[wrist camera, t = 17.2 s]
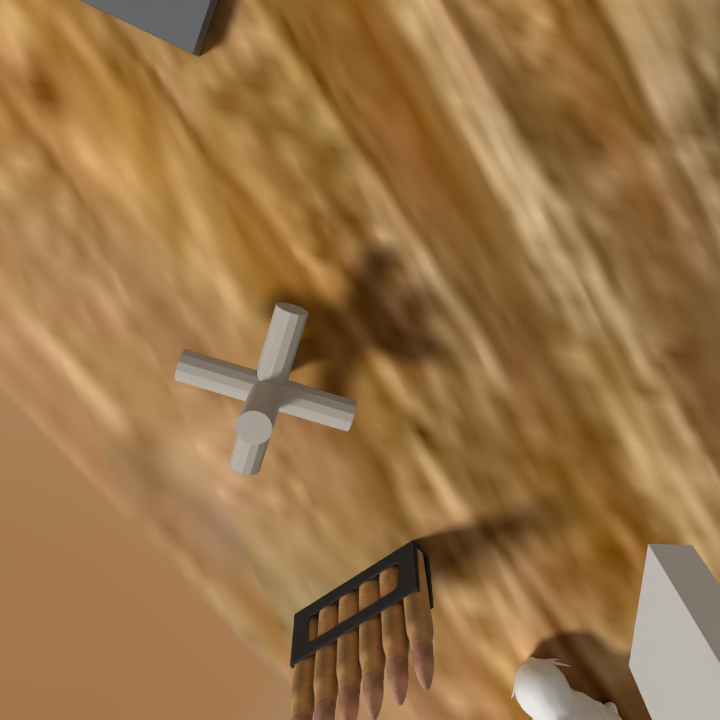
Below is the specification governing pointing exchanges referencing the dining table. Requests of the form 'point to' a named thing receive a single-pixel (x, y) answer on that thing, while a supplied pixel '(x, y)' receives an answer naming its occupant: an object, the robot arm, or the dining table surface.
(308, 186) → the dining table surface
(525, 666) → the penguin figurine
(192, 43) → the rectangular socket base
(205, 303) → the dining table surface
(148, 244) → the dining table surface
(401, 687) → the ammunition clip
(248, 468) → the pipe connector
